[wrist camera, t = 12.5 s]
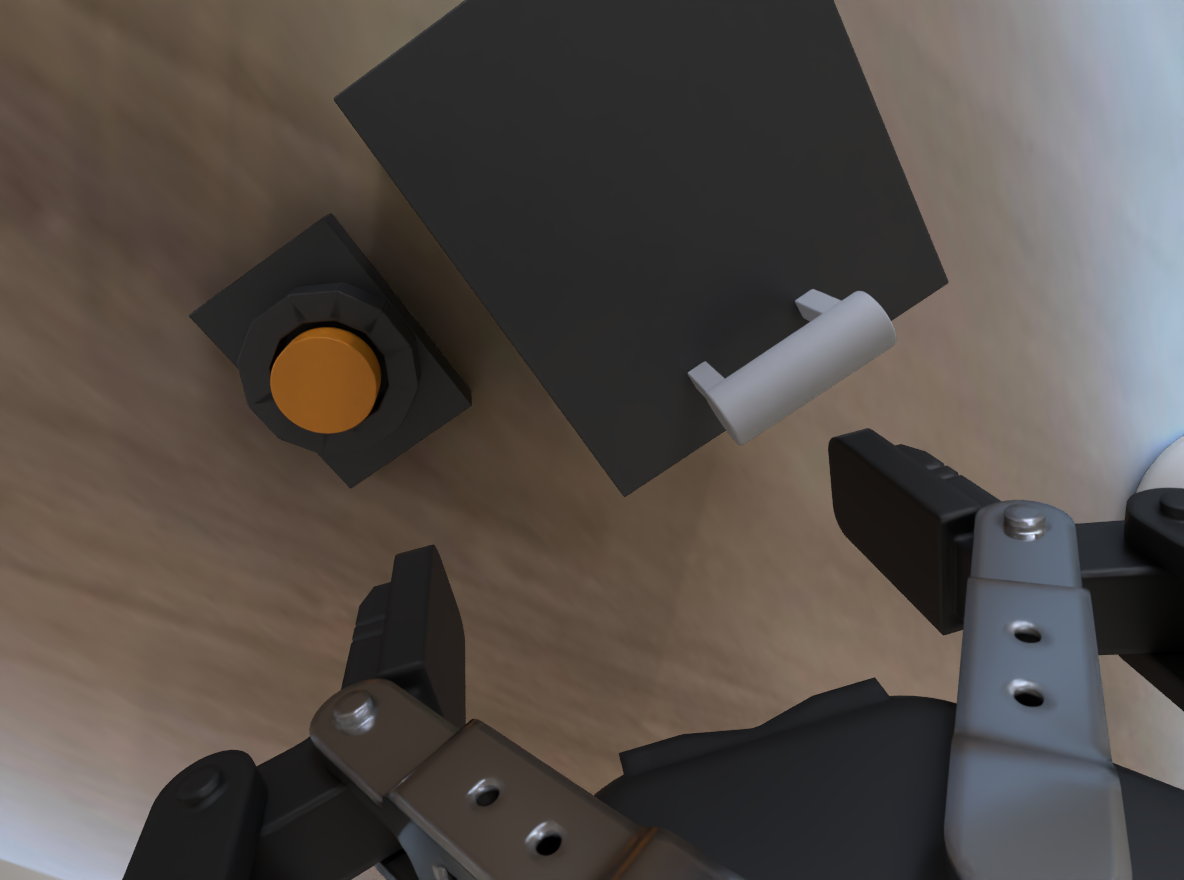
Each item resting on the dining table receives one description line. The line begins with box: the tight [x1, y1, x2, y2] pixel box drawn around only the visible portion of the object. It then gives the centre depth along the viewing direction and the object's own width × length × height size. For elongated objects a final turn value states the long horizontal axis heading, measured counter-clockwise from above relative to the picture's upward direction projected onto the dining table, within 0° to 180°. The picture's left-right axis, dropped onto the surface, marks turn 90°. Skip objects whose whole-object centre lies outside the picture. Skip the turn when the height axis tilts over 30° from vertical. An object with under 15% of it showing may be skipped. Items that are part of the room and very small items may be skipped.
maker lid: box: [334, 0, 948, 497], centre depth 19 cm, size 14×13×5 cm
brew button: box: [270, 327, 381, 434], centre depth 29 cm, size 4×4×2 cm
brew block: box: [189, 214, 472, 488], centre depth 32 cm, size 10×7×4 cm
